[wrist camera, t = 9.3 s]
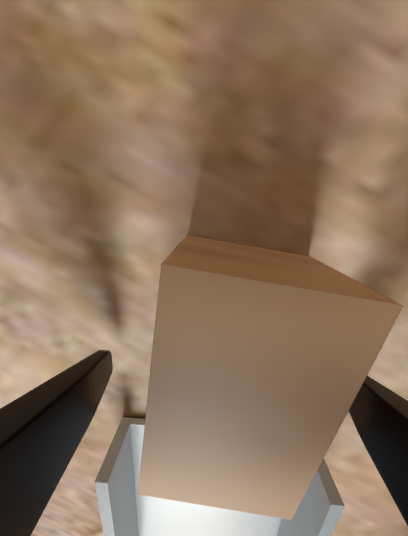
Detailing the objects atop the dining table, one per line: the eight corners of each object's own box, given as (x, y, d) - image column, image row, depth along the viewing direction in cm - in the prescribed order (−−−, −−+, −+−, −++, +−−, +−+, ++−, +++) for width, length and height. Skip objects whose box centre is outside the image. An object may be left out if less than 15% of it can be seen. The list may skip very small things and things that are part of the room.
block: (260, 395, 10) (291, 520, 6) (167, 379, 10) (137, 494, 6) (306, 254, 7) (403, 305, 4) (188, 234, 7) (161, 264, 4)
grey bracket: (276, 552, 13) (290, 628, 11) (133, 537, 13) (116, 609, 11) (312, 433, 10) (344, 506, 7) (122, 416, 10) (94, 482, 8)
